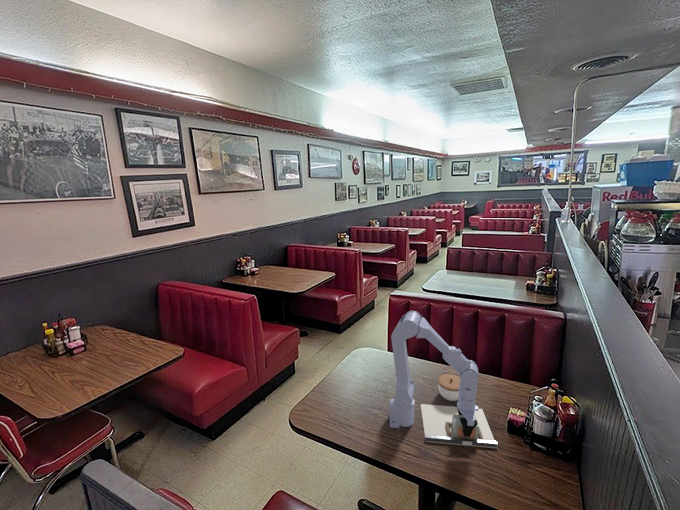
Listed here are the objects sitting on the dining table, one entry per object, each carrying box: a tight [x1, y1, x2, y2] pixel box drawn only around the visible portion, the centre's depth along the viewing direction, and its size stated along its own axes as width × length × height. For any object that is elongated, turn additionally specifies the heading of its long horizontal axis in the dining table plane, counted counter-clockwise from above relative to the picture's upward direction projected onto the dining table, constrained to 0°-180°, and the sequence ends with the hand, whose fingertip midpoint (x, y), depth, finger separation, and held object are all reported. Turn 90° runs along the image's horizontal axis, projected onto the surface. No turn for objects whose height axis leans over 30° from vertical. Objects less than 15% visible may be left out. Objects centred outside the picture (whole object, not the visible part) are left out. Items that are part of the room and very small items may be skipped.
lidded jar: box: [437, 373, 461, 402], centre depth 141 cm, size 11×11×9 cm
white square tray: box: [420, 403, 499, 449], centre depth 125 cm, size 24×20×2 cm
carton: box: [452, 414, 479, 439], centre depth 119 cm, size 5×8×6 cm, turn 81°
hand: (464, 428), depth 120 cm, fingers open, 6 cm apart
